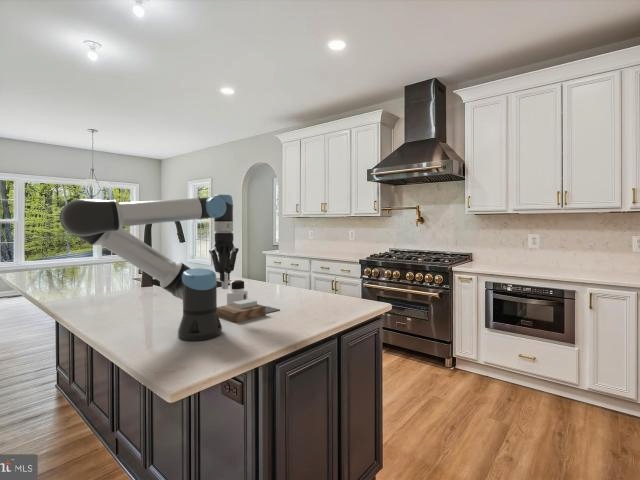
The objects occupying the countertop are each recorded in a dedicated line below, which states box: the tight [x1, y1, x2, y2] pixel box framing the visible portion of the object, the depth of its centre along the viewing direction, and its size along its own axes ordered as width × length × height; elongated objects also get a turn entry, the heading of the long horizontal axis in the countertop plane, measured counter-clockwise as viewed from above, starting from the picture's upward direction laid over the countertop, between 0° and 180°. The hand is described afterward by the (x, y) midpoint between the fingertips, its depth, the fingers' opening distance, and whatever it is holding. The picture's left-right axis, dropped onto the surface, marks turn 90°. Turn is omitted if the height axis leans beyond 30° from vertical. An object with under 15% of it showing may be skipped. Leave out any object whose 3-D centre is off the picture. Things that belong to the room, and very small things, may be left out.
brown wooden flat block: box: [217, 303, 266, 324], centre depth 157 cm, size 16×14×4 cm
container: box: [226, 279, 249, 305], centre depth 171 cm, size 8×8×13 cm
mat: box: [264, 305, 281, 314], centre depth 166 cm, size 10×10×1 cm
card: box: [232, 298, 258, 309], centre depth 158 cm, size 9×6×2 cm, turn 137°
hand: (225, 288), depth 151 cm, fingers closed
